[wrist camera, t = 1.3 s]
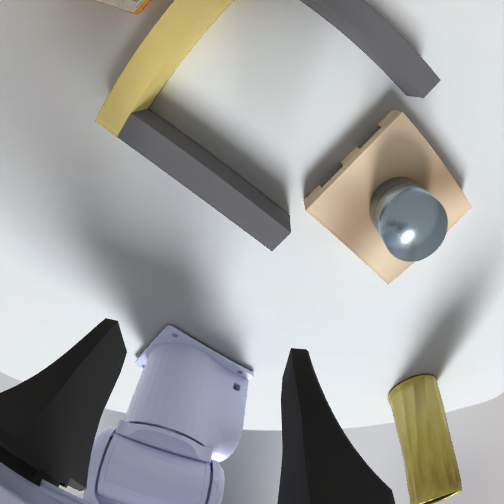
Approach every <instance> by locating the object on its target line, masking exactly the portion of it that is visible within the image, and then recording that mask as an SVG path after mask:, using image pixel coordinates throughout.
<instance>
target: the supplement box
mask: <svg viewBox="0 0 504 504" xmlns="http://www.w3.org/2000/svg"><path fill="white" fill-rule="evenodd" d="M95 1H98V2H102V3H105V4H108V5H111V6H114V7H117V8H120V9H122V10H126V11H128V12H131V13H134V14H139V13H140V12H141V11H142V10H143V8H144V7H145V6H146V5H147V4H148V3H149V2H150V1H151V0H95Z"/></svg>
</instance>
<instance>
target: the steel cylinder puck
mask: <svg viewBox="0 0 504 504" xmlns="http://www.w3.org/2000/svg"><path fill="white" fill-rule="evenodd" d="M369 214H370V218H371V221H372V223H373V225H374V226H375V228H376V230H377V231H378V233H379V235H380V237H381V238H382V240H383V242H384V244H385V245H386V247H387V249H388V251H389V252H390V253H391V254H392V255H393V256H394V257H395V258H397V259H399V260H402V261H407V262H413V261H418V260H422V259H424V258H426V257H428V256H429V255H431V254H432V253H433V252H435V251H436V250H437V249H438V247H439V246H440V245H441V243H442V242H443V240H444V238H445V235H446V232H447V227H448V218H447V213H446V211H445V208H444V207H443V205H442V204H441V203H440V202H439V201H438V200H437V199H436V198H435V197H433V196H432V195H431V194H430V193H429V192H428V191H426V190H425V189H424V188H423V187H422V186H421V185H419V184H418V183H417V182H416V181H414V180H413V179H410V178H407V177H394V178H391V179H388V180H386V181H385V182H383V183H382V184H381V185H380V186H379V187H378V188H377V189H376V190H375V192H374V194H373V195H372V198H371V201H370V205H369Z"/></svg>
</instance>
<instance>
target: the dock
mask: <svg viewBox="0 0 504 504" xmlns="http://www.w3.org/2000/svg"><path fill="white" fill-rule="evenodd" d="M232 1H233V0H174V2H173V3H172V4H171V5H170V6H169V8H168V9H167V10H166V11H165V13H164V14H163V15H162V16H161V18H160V19H159V20H158V21H157V23H156V24H155V25H154V27H153V28H152V29H151V31H150V32H149V33H148V35H147V36H146V38H145V39H144V40H143V42H142V43H141V45H140V46H139V47H138V49H137V50H136V52H135V53H134V55H133V56H132V58H131V59H130V61H129V62H128V64H127V66H126V67H125V69H124V70H123V72H122V73H121V75H120V77H119V78H118V80H117V82H116V83H115V85H114V87H113V88H112V90H111V92H110V94H109V95H108V97H107V99H106V101H105V103H104V104H103V106H102V108H101V110H100V112H99V114H98V116H97V118H96V119H95V121H96V122H97V123H99V124H100V125H101V126H103V127H104V128H106V129H107V130H108V131H110V132H111V133H113V134H114V135H115V136H117V137H118V138H119V139H121V140H122V141H124V142H125V143H126V144H128V145H129V146H130V147H132V148H133V149H135V150H136V151H137V152H139V153H140V154H141V155H143V156H144V157H146V158H147V159H148V160H150V161H151V162H152V163H154V164H155V165H157V166H158V167H159V168H161V169H162V170H163V171H165V172H166V173H168V174H169V175H170V176H172V177H173V178H174V179H176V180H177V181H178V182H180V183H181V184H182V185H184V186H185V187H187V188H188V189H189V190H191V191H192V192H193V193H195V194H196V195H197V196H199V197H200V198H201V199H203V200H204V201H205V202H207V203H208V204H210V205H211V206H212V207H214V208H215V209H216V210H218V211H219V212H220V213H222V214H223V215H224V216H226V217H227V218H228V219H230V220H231V221H232V222H234V223H235V224H236V225H238V226H239V227H240V228H242V229H243V230H244V231H246V232H247V233H248V234H250V235H251V236H252V237H254V238H255V239H256V240H258V241H259V242H260V243H262V244H263V245H264V246H266V247H267V248H268V249H270V250H271V251H273V250H274V249H275V248H276V247H277V246H278V245H279V244H280V243H281V242H282V241H283V240H284V239H285V238H286V237H287V236H288V235H289V234H290V233H291V228H290V215H289V214H288V213H286V212H285V211H284V210H283V209H282V208H280V207H279V206H278V205H277V204H275V203H274V202H273V201H272V200H270V199H269V198H268V197H267V196H265V195H264V194H263V193H261V192H260V191H259V190H258V189H256V188H255V187H254V186H253V185H251V184H250V183H249V182H247V181H246V180H245V179H244V178H242V177H241V176H240V175H238V174H237V173H236V172H235V171H233V170H232V169H231V168H229V167H228V166H227V165H225V164H224V163H223V162H221V161H220V160H219V159H217V158H216V157H215V156H213V155H212V154H211V153H209V152H208V151H207V150H205V149H204V148H203V147H201V146H200V145H199V144H197V143H196V142H194V141H193V140H192V139H190V138H189V137H188V136H186V135H185V134H183V133H182V132H181V131H179V130H178V129H177V128H175V127H174V126H172V125H171V124H170V123H168V122H167V121H165V120H164V119H162V118H161V117H160V116H158V115H157V114H155V113H154V112H152V111H151V110H150V109H148V108H149V107H150V105H151V104H152V102H153V101H154V99H155V98H156V96H157V95H158V93H159V92H160V90H161V89H162V87H163V86H164V85H165V83H166V82H167V80H168V79H169V78H170V76H171V75H172V73H173V72H174V71H175V69H176V68H177V67H178V65H179V64H180V63H181V61H182V60H183V59H184V57H185V56H186V55H187V53H188V52H189V51H190V50H191V48H192V47H193V46H194V45H195V43H196V42H197V41H198V40H199V38H200V37H201V36H202V35H203V34H204V32H205V31H206V30H207V29H208V28H209V27H210V25H211V24H212V23H213V22H214V21H215V20H216V19H217V18H218V16H219V15H220V14H221V13H222V12H223V11H224V10H225V9H226V8H227V7H228V6H229V4H230V3H231V2H232ZM300 1H302V2H303V3H305V4H306V5H307V6H309V7H310V8H311V9H313V10H314V11H315V12H317V13H318V14H319V15H321V16H322V17H323V18H325V19H326V20H327V21H328V22H330V23H331V24H332V25H333V26H335V27H336V28H337V29H338V30H340V31H341V32H342V33H343V34H344V35H345V36H347V37H348V38H349V39H350V40H351V41H352V42H353V43H355V44H356V45H357V46H358V47H359V48H360V49H361V50H362V51H363V52H364V53H366V54H367V55H368V56H369V57H370V58H371V59H372V60H373V61H374V62H375V63H376V64H377V65H378V66H379V67H380V68H381V69H382V70H383V71H384V72H385V73H386V74H387V75H388V76H389V77H390V78H391V79H392V80H393V81H394V83H395V84H396V85H397V86H398V87H399V88H400V89H401V90H402V91H403V92H404V93H405V95H407V96H414V97H420V98H424V97H425V96H426V95H427V94H428V93H429V92H430V91H431V90H432V89H433V88H434V87H435V86H436V85H437V83H438V82H439V81H440V79H439V78H438V76H437V75H436V74H435V73H434V72H433V70H432V69H431V68H430V67H429V66H428V64H427V63H426V62H425V61H424V60H423V59H422V57H421V56H420V55H419V54H418V53H417V52H416V51H415V50H414V49H413V48H412V46H411V45H410V44H409V43H408V42H407V41H406V40H405V39H404V38H403V37H402V36H401V35H400V34H399V33H398V32H397V31H396V30H395V29H394V28H393V27H392V26H391V25H390V24H389V23H388V22H387V21H386V20H385V19H383V18H382V17H381V16H380V15H379V14H378V13H377V12H376V11H375V10H373V9H372V8H371V7H370V6H369V5H368V4H367V3H365V2H364V1H363V0H300Z"/></svg>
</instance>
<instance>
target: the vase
mask: <svg viewBox="0 0 504 504" xmlns="http://www.w3.org/2000/svg"><path fill="white" fill-rule="evenodd" d="M388 401H389V403H390V405H391V408H392V412H393V416H394V420H395V424H396V428H397V432H398V436H399V441H400V444H401V449H402V455H403V459H404V465H405V471H406V478H407V485H408V491H409V495H410V504H434V503H436V502H439V501H442V500H444V499H447V498H449V497H451V496H453V495H455V494H457V493H459V492H460V491H462V486H461V479H460V474H459V469H458V465H457V461H456V457H455V453H454V449H453V445H452V441H451V437H450V432H449V428H448V424H447V420H446V415H445V410H444V406H443V402H442V398H441V395H440V391H439V388H438V384H437V379H436V378H435V377H434V376H432V375H419V376H415V377H412V378H409V379H407V380H405V381H403V382H401V383H400V384H398V385H397V386H396V387H394V388H393V389H392V391H391V392H390V393H389V396H388Z"/></svg>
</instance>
